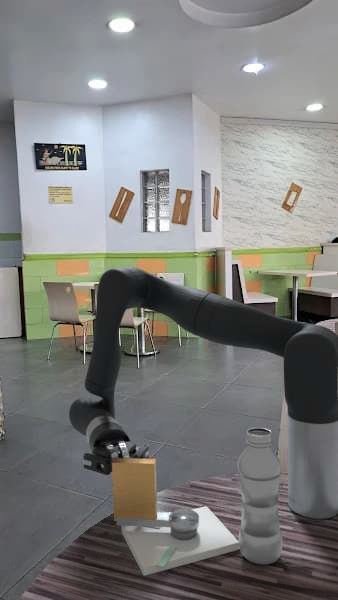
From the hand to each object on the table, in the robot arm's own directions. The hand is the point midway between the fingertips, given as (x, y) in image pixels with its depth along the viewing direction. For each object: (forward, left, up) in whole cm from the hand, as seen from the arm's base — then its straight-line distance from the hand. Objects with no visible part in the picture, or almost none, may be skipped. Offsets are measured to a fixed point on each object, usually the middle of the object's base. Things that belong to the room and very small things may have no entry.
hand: (128, 476), depth 80 cm
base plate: (-7, +5, -10) cm, 13 cm away
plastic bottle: (-17, +14, -10) cm, 24 cm away
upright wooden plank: (-4, +3, -7) cm, 9 cm away
